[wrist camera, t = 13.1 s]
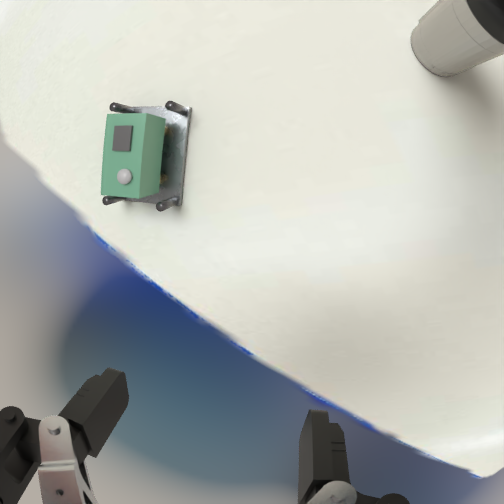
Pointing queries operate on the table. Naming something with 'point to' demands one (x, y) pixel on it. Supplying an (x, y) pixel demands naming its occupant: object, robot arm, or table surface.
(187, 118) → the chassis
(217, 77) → the table surface
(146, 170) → the module block
